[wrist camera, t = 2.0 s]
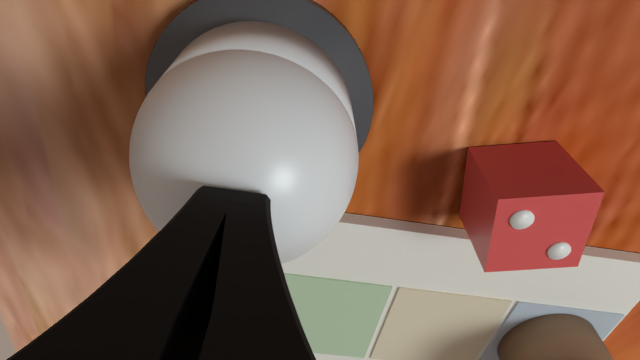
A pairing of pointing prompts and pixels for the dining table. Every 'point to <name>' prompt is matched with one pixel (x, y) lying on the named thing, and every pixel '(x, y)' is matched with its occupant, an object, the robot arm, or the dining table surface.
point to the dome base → (282, 9)
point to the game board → (439, 292)
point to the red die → (527, 206)
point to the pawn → (553, 340)
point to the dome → (250, 131)
